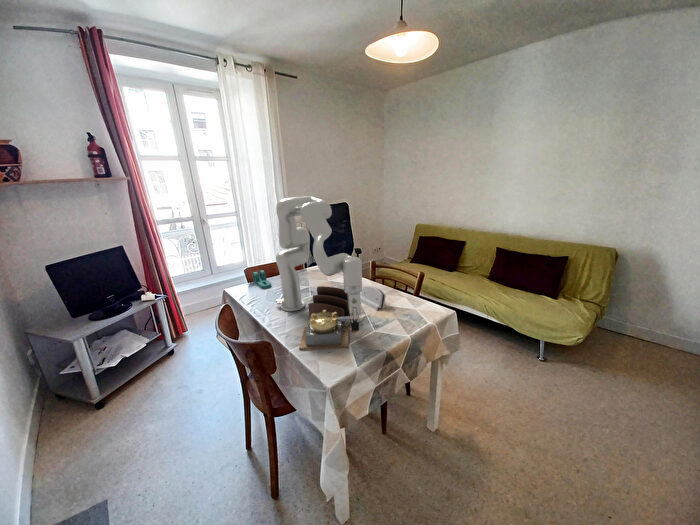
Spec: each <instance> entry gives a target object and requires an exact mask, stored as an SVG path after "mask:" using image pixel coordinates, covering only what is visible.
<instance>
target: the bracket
mask: <svg viewBox="0 0 700 525" xmlns="http://www.w3.org/2000/svg"><path fill="white" fill-rule="evenodd" d="M252 280H253V283H254V284H255V285H256V286H258V287H259V288H260V289H262V290H265V289H270V288H271V287H272V282H270V281H269V280H268V279H267V275H266V272H265V271H264V270H262V269H261V270H259V271H254V272H252Z"/></svg>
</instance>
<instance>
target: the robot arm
mask: <svg viewBox="0 0 700 525" xmlns="http://www.w3.org/2000/svg"><path fill="white" fill-rule="evenodd" d="M275 206H276V207H275V208H276V209H275V210H276V216H277V220H278V221H277V222H278V243H279V246H280V248H281V249H284V250H281V251H279V252H278V253H277V254H276V256H275V262H276V265H277V269H278V272H279V278H280V285H281V292H282V298H281V299H280V298H279V299H275V304H276V305H281V306H280V307H281V308H280V309H281V310H282V311H284V312H297V311H299V310H301V309H303V308H305V301H304V300H303V299H302V293H301V292H302V291H301V285H300V284H301V283H300V275H299V272H298V271H297V270H296V269H295V267H297V266H301V265H304V264H307V262H308V260H309V258H310V247H311V246H310V244H311V242H310V240H311V239H310V238H311V237H310V234H311V236H312V238H313V244H312V255H313V260H314V261H315V263H316V265H317V267H318V269H319V271H320V272H321V273H322V274H323V275H324V276H327V277H332V276H335V275H337V274H340V273H343V274H342V275H343V289H344V292H345V293H347V297H348V307H349V313H350V316H351V317H352V322H350V330H351V329H352V331H358V330H359V331H360V320H359V321H358V315H359V316H361V317H362V302H361V293H362V290H363V272H362V270H363V267H362V260H361V258H360V257H358V256H351V255H349V254H348V253H345V252H342V253H341V252H340V253H338V254H334V255H332V256H328V255H327V254H326V251H325V248H324V242H325V241H326V240H327V239H329V237H330V236H331V234H332V230H333V229H332V227H331V226H330V224H329V223H328V220H327V219H330V218H331V216H332V215H333V213H332V212H333V210H332V206H331V205H330V203H328V202H327V201H326V200H324V199H320V198H317V197H314V196H311V195H308V196H307V195H306V196H295V197H286V198H282V199H280V200H279V201H278V202H277V204H276V205H275ZM299 216H301V218H302V220H303V222H304V223H305V225H306V227H307V228H305V227H303V226H299V227H298V226H297V223H298V222H297V220H296V217H299ZM308 231H309V232H310V234H309V232H308ZM356 313H357V315H356ZM352 314H353V315H352ZM353 317H354V318H353ZM352 331H351V332H352ZM359 331H358V332H359Z"/></svg>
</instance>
